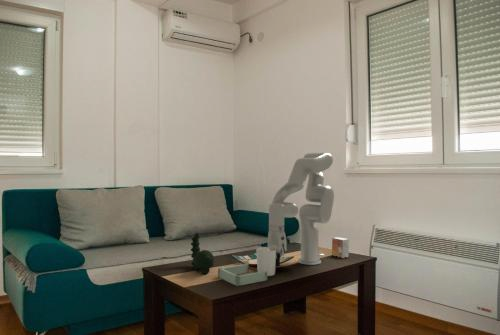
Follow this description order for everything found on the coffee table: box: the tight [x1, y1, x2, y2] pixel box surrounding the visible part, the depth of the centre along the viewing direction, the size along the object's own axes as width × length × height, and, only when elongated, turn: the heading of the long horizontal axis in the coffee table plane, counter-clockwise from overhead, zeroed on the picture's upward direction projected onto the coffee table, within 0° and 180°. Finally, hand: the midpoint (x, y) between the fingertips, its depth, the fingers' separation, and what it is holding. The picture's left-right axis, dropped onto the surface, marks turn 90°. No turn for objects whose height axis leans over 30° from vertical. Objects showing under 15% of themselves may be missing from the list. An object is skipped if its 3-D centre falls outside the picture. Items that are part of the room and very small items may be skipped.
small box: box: [331, 236, 350, 259], centre depth 226 cm, size 8×6×10 cm
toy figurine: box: [190, 232, 215, 275], centre depth 194 cm, size 9×19×25 cm
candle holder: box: [255, 246, 276, 277], centre depth 188 cm, size 10×10×12 cm
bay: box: [217, 259, 268, 287], centre depth 180 cm, size 16×17×6 cm
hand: (276, 265), depth 191 cm, fingers closed
